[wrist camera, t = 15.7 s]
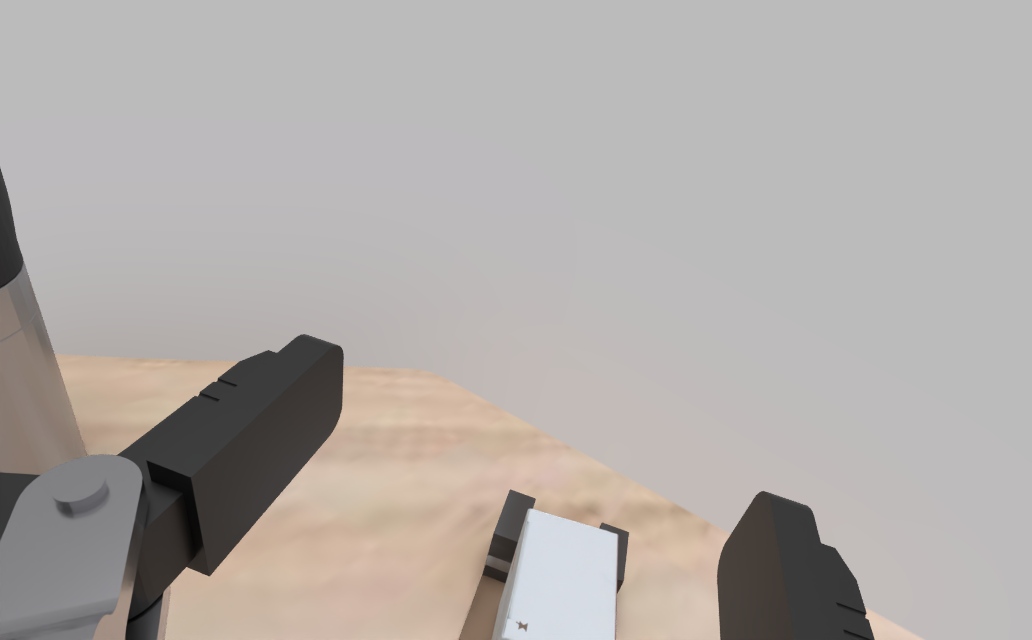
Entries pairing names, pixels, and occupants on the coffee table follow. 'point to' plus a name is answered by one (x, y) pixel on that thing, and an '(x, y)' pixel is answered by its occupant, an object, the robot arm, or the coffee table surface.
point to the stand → (499, 562)
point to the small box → (560, 582)
